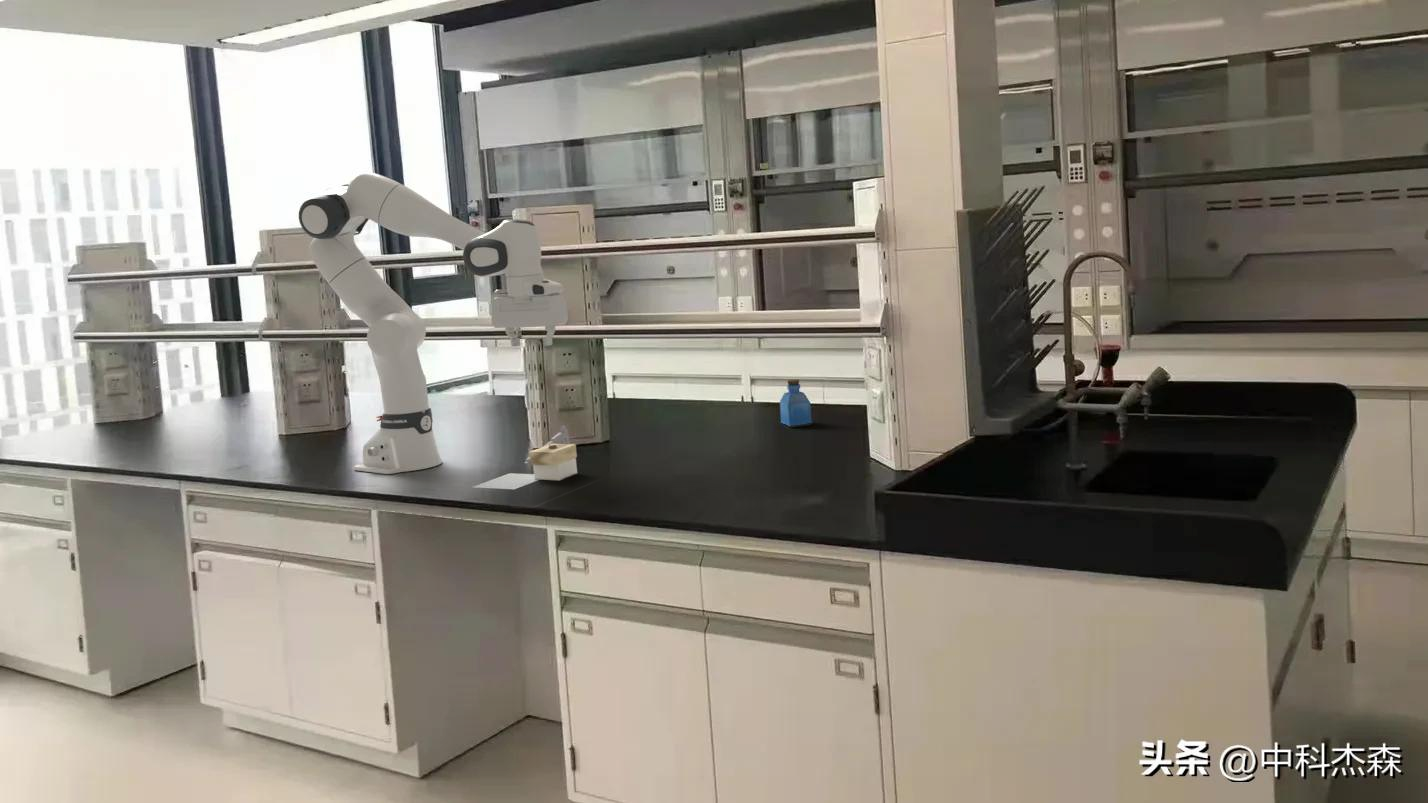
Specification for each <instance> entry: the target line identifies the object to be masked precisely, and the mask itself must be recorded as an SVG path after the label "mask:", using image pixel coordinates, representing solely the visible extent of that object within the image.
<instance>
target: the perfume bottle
mask: <svg viewBox="0 0 1428 803" xmlns="http://www.w3.org/2000/svg"><path fill="white" fill-rule="evenodd" d="M786 389H787V390H788V392H784V393H783V394H782V397H781V398H780V401H779V410H780V424H781V423H783V424H786V425H788V426H793V425H801V424H807V423H811V424H812V411H811V402H810V400H809V398H808V396H806V393H805V392H802V391H800V389H801V384H800V379H788V380H787V385H786Z"/></svg>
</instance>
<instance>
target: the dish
mask: <svg viewBox="0 0 1428 803" xmlns="http://www.w3.org/2000/svg"><path fill="white" fill-rule="evenodd" d="M577 466H578V465H577V457H576V458H573V459H570V460H568V461H565V462H562V463H560V464H557V465H555V466H552V465H532V468H533V474H534V479H540V480H539V481H545V480H546V481H562V480H564V479H568V478H569V477H572V476H574V475H577V474H578V468H577Z"/></svg>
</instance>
